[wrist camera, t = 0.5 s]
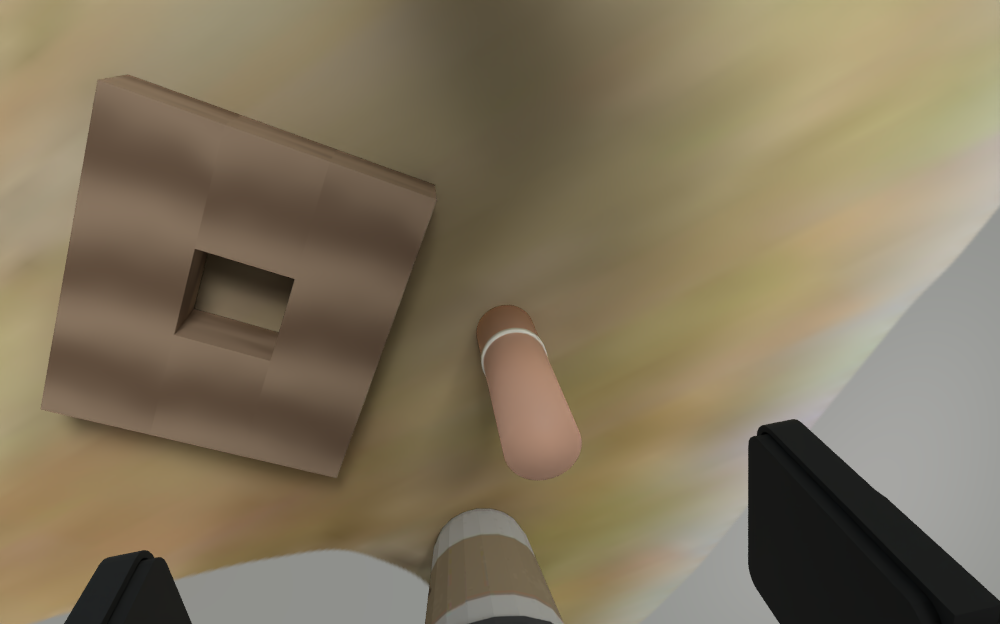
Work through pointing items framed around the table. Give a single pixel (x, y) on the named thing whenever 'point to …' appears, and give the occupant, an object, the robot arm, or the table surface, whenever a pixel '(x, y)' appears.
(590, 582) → the table surface
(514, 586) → the coffee cup
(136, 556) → the robot arm
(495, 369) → the peg
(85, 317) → the board
